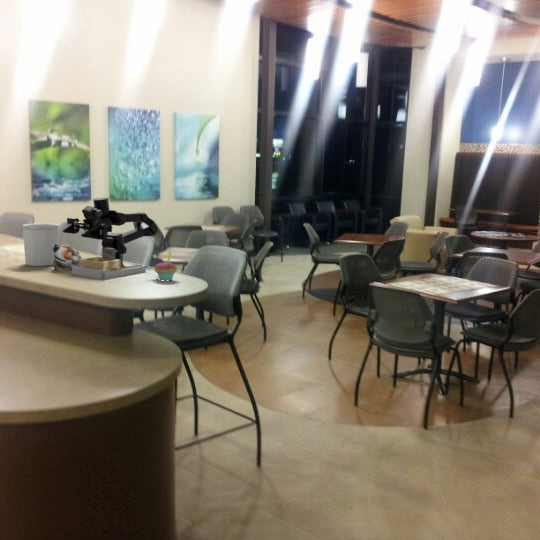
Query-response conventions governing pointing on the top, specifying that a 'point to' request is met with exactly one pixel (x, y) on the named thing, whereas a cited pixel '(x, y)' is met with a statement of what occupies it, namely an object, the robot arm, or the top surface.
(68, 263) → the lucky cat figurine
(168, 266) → the cupcake
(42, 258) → the utensil holder
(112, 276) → the tray
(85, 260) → the crate
